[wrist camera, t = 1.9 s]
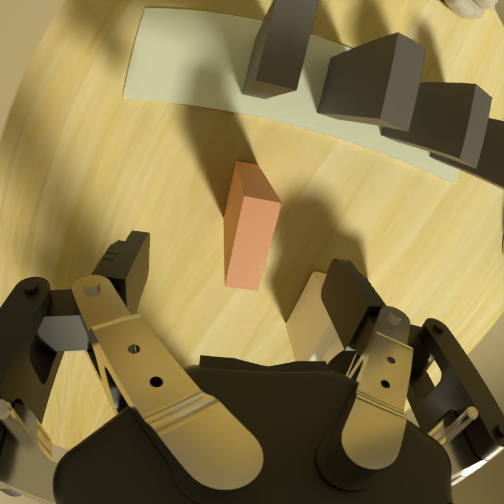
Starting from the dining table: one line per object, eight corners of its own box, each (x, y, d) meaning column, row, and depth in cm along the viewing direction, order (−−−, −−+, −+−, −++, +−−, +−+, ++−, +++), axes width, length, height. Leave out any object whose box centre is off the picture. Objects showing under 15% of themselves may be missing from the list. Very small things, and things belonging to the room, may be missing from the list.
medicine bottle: (284, 324, 30) (309, 420, 20) (312, 269, 27) (359, 363, 17) (339, 334, 32) (376, 418, 21) (370, 284, 29) (425, 366, 18)
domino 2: (258, 164, 22) (281, 203, 14) (244, 222, 25) (257, 290, 16) (235, 160, 22) (244, 196, 13) (223, 218, 24) (224, 286, 15)
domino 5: (453, 117, 21) (530, 136, 12) (441, 162, 23) (515, 195, 14) (441, 109, 21) (520, 125, 12) (429, 156, 23) (506, 188, 14)
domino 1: (279, 41, 18) (319, -3, 9) (265, 99, 20) (296, 90, 11) (256, 36, 17) (280, -14, 8) (241, 94, 19) (255, 80, 11)
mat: (471, 116, 21) (473, 116, 21) (453, 184, 24) (455, 185, 24) (145, 8, 15) (145, 7, 15) (123, 98, 19) (122, 98, 18)
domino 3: (350, 65, 19) (425, 48, 10) (337, 119, 21) (408, 131, 12) (330, 57, 18) (398, 32, 10) (317, 113, 21) (379, 119, 12)
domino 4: (409, 91, 20) (491, 97, 11) (396, 141, 22) (476, 168, 13) (393, 83, 19) (475, 83, 11) (380, 135, 22) (459, 158, 13)
